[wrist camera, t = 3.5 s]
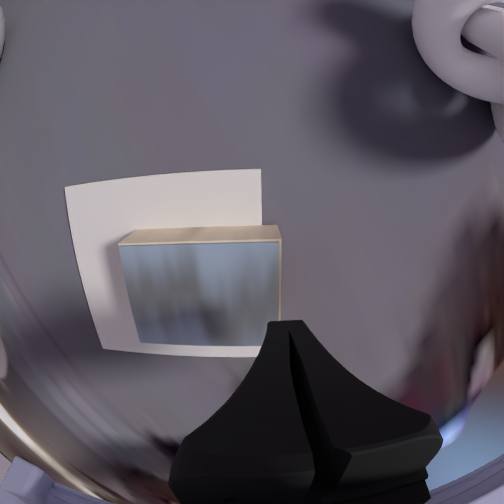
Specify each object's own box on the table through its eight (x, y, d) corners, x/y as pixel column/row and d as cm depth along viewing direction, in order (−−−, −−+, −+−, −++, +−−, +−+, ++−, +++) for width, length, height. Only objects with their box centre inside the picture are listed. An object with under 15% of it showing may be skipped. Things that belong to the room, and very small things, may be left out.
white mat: (263, 353, 19) (263, 356, 19) (104, 346, 19) (102, 348, 19) (260, 168, 15) (260, 169, 15) (67, 186, 15) (64, 187, 15)
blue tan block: (279, 346, 15) (139, 343, 15) (276, 319, 18) (152, 319, 18) (281, 240, 13) (116, 244, 13) (277, 224, 16) (136, 229, 16)
